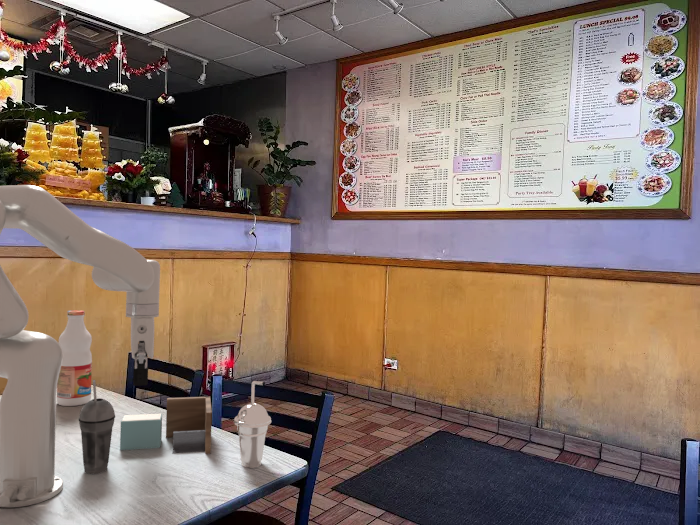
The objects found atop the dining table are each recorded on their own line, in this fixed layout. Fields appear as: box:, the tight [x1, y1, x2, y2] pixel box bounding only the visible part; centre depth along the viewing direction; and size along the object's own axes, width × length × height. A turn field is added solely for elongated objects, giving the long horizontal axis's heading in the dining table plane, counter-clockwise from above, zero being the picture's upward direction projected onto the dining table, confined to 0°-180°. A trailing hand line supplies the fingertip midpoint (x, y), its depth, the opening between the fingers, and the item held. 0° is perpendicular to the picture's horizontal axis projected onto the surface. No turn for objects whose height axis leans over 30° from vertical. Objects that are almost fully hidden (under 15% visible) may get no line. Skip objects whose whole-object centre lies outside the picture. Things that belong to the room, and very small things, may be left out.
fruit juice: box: [56, 309, 93, 407], centre depth 167 cm, size 9×9×28 cm
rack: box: [165, 396, 213, 455], centre depth 135 cm, size 14×11×10 cm
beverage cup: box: [78, 379, 116, 475], centre depth 118 cm, size 7×7×20 cm
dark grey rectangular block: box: [172, 430, 205, 455], centre depth 132 cm, size 4×8×4 cm, turn 106°
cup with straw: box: [233, 380, 272, 469], centre depth 124 cm, size 8×9×20 cm
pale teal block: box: [119, 413, 163, 451], centre depth 134 cm, size 5×9×7 cm, turn 105°
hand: (140, 380), depth 133 cm, fingers open, 9 cm apart
